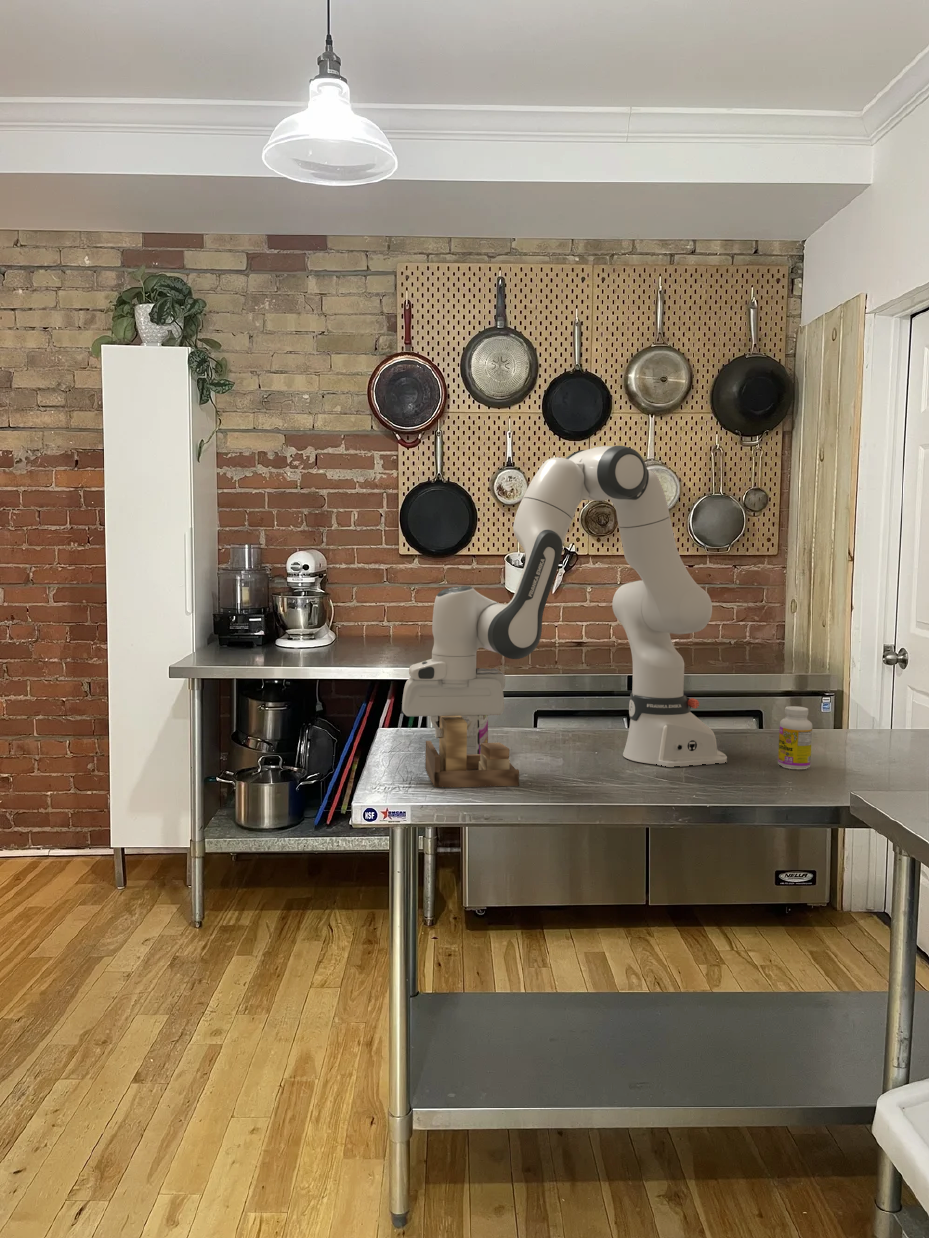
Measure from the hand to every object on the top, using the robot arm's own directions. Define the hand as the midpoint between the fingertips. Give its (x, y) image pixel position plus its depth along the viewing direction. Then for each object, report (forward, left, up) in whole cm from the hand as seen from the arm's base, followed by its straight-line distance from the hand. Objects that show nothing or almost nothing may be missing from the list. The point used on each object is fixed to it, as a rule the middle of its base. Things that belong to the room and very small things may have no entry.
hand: (452, 737), depth 189 cm
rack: (-4, 0, -8) cm, 9 cm away
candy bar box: (-8, -19, -8) cm, 23 cm away
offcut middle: (-9, 0, -6) cm, 11 cm away
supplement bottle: (-75, -2, -8) cm, 75 cm away
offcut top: (-9, 0, -4) cm, 9 cm away
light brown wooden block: (0, 0, -8) cm, 8 cm away
